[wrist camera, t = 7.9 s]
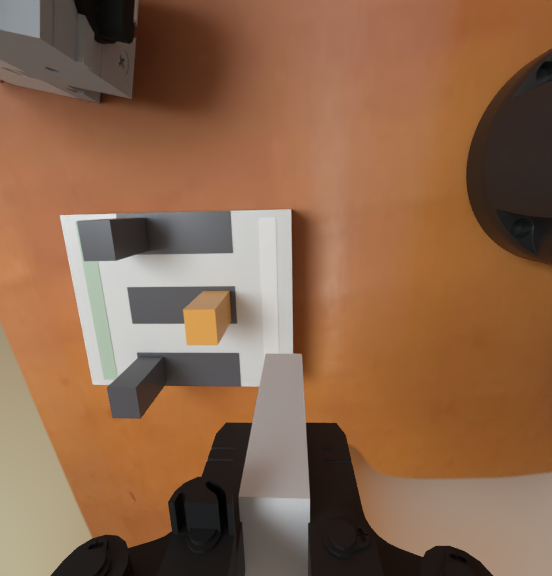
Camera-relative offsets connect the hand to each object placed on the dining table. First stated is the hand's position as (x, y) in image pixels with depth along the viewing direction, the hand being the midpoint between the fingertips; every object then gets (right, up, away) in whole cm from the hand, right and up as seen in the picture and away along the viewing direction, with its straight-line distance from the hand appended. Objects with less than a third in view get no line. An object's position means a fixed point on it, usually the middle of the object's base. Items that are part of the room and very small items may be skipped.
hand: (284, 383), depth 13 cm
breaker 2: (-11, -3, +12) cm, 16 cm away
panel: (-7, +3, +14) cm, 16 cm away
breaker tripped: (-5, +3, +11) cm, 12 cm away
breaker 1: (-11, +8, +10) cm, 17 cm away
